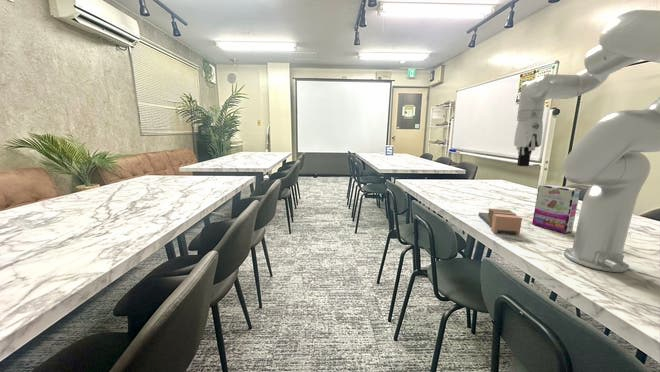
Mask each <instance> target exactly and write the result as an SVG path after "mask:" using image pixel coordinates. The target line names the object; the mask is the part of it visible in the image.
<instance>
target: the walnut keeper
mask: <svg viewBox="0 0 660 372" xmlns="http://www.w3.org/2000/svg"><path fill="white" fill-rule="evenodd" d="M487 213H488V220H487V221H488V222H489V223H490V224H492V220H493V214H503V215H515V216H517V214H516V213H515V212H513V211H512V210H510V209H501V208H489V209H488V212H487Z"/></svg>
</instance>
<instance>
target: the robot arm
mask: <svg viewBox="0 0 660 372" xmlns="http://www.w3.org/2000/svg"><path fill="white" fill-rule="evenodd" d="M598 41H599V44H597V45H596V46H594V47H593V48H591V49H590V50H588V52H587V53H586V55H585V56H584V61H583V62H584V67H585V69H584V70H582V71H580V72H578V73H576V74H553V73H552V74H551V73H550V74H549V73H548V74H544V75H541V76H538V77H537V78H535V79H533V80H532V79H531V80H529V81H525V82H523V83H522V84H521V87H520V94H519V100H518V108H517V116H516V117H517V118H516V122H517V124H516V127H515V128H516V130H515V133H514V134H515V135H514V142H513V145H514V147H516V150H517V154H518V158H517V164H516V165H517V167H529V166H530V160H531V156H532V154H533V153H532V152H533V151H536V148H539V147H541V146H542V140H543V124H544V123H543V118H544V117H543V116H544V111H545V104H546V99H547V100H548V99H553V100H554V99H556V100H558V99H559V100H568V99H569V100H570V99H575V98H577V97H579V96H582V95H584V94H586V93H589V92H591V91H593V90H595V89H597V88H598V87H600V86H601V85H602V84H603V83H604V82H605V81H606V80H607V79H608V78H609V76H610V75H611V74H613V73H615V72H617V71H620V70H621V69H623V68H626V67H629V66H630V65H633V64H635V63H636V62H639V61H641V60H643V61H647V62H651V63H656V64H657V63H658V64H660V10H653V9H651V10H649V9H635V10H630V11H627V12H625V13H622V14H620V15H618V16H617V17H615V18H614V19H612V20H611V21H610V22H609V23H608V24H607V25H606V26H605V27H604V28H603V30H602V32H601V34H600V36H599V40H598ZM654 152H655V153H656V152H657V153H659V152H660V96H659V97H658V98H657V99H656V100H655V101H654V102H653V103H652V104H650V105H649V106H647V107H646V108H644V109H625V110H619V111H615V112H613V113H609V114H608V115H606V116H604V117H602V118H601V119H600V120H599V121H597V122H596V123H595V124H594V125H593V126H592V127H591V128H590V130H589V131H588V132H587V133H586V134H585V135H584V136H583V137H582V139H580V141H579V142H578V143H577V144H576V145H575V146H574V148H572V150H571V151H570V152H569V153H568V155H566V157H565V159H564V160H563V163H562V169H561V170H562V175H563V176H564V178H565V179H566V180H567V181H568V182H571V183H572V184H576V185H581V186H582V185H585V186H589V187H588V189H587V191H586V192H585V194H584V196H583V199H582V203H581V207H580V211H579V216H578V221H577V226H576V231H575V233H574V234H575V235H574V240H573V244H572V247H569V248H566V249H564V251H563V255H564V256H565V257H566V258H567V259H568V260H570V261H572V262H574V263H576V264H579V265H581V266H584V267H588V268H590V269H595V270H598V271H604V272H610V273H624V272H627V271H628V270H629V268H630V265H629V264H628V263H627V262H625V261H624V259H625V255H624V254H623V251H624V248H625V245H626V240H627V237H628V233H629V229H630V226H631V221H632V218H633V214H634V211H635V206H636V203H637V200H638V197H639V195H640V192H641V190H642V188H643V186H644V184H645V183H646V181H647V179H648V177H649V174H650V172H651V163H650V160H649V159H648V157H647V156H646V155H645V154H643V153H654Z"/></svg>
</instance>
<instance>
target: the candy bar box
mask: <svg viewBox="0 0 660 372" xmlns="http://www.w3.org/2000/svg"><path fill="white" fill-rule="evenodd" d="M580 193H581V188H576V187H575V188H574V187H569V186H562V185H561V186H560V185H553V184H539V185H538V189H537V193H536V200H535V207H534V212H533V217H532V225H534V226H537V227H540V228H544V229H548V230H552V231H556V232H559V233H562V234H568V233H572V232H573V229H574V228H573V227H574V224H575V217H576V214H577V208H578V203H579V200H580Z"/></svg>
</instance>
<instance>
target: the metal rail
mask: <svg viewBox="0 0 660 372" xmlns="http://www.w3.org/2000/svg"><path fill="white" fill-rule="evenodd" d="M488 213H489V212H478V217H479V218H480V219H482V221H483V222H484V223H486V224H487V226H488V227H490V228H491V227H492V224H490V223H489V222H488V221H487V220H488ZM497 231H498V232H497V234H498V233H499V230H497ZM502 231H506V230H500V233H501V232H502ZM516 232H517V231H514V233H516ZM500 233H499V234H498V235H501V234H500ZM502 233H503V232H502ZM504 233H505V232H504ZM508 233H511V232H510V231H509V232H508V231H507V232H506V234H505V235H508ZM512 233H513V231H512ZM512 233H511V235H510V234H509V235H508V236H516V234H515V235H514V233H513V234H512Z"/></svg>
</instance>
